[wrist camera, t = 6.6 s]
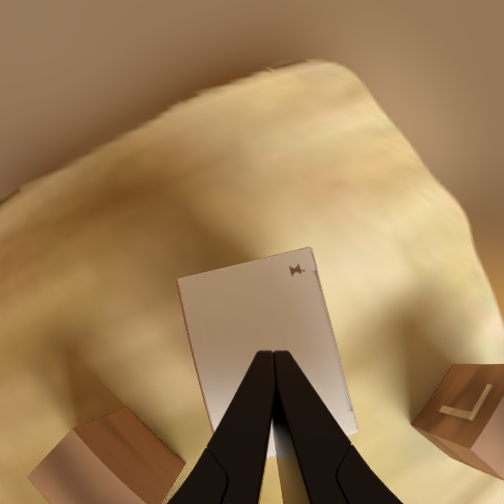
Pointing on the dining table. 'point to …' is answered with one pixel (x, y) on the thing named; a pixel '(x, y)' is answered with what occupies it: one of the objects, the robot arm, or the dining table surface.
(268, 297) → the small box
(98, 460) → the walnut block one
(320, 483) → the robot arm
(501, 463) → the walnut block seven
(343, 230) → the dining table surface
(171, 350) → the dining table surface
